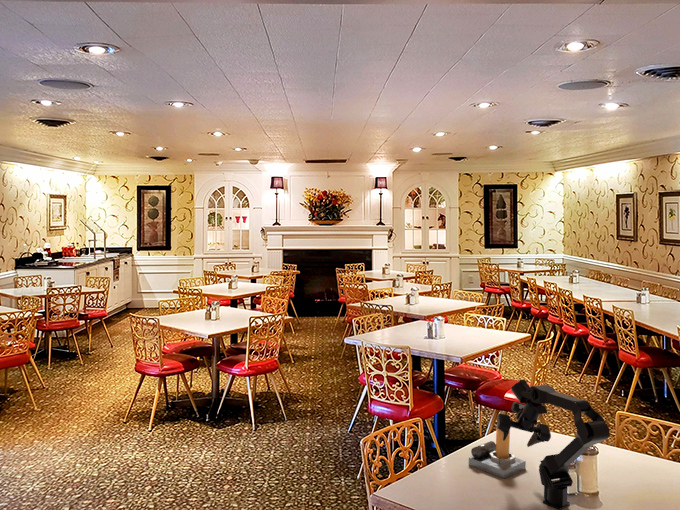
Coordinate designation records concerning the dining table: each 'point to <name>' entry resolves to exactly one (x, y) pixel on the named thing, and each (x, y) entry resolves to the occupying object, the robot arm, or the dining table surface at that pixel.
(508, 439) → the lidded container
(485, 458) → the octagonal ring base plate
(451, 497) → the dining table surface
